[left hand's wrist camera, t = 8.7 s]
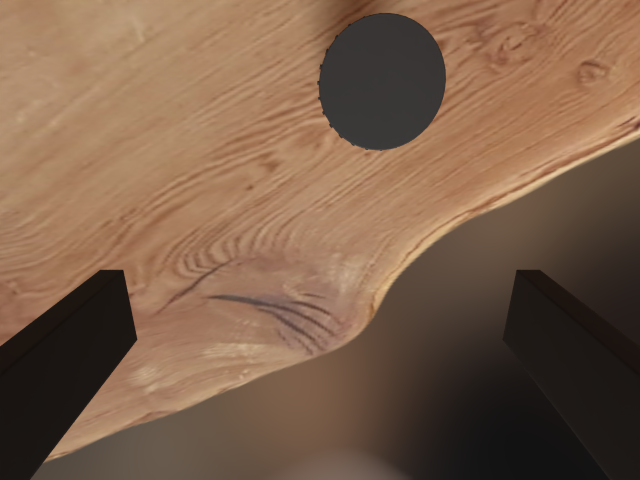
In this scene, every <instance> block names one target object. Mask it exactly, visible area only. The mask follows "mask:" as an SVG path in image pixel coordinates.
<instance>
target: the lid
mask: <svg viewBox="0 0 640 480" xmlns="http://www.w3.org/2000/svg"><path fill="white" fill-rule="evenodd" d="M320 69H321V72H320V79H319V81H317V85H319V95H320V97H318V100H320V101H321V105H322V108H323V112H322V113H323V115H324V114H325V115H326V117H327V119H328V121H329V122H330V124H329V125H330V127H331V128H332V127H333V128H334V129H335V131H336V132H337V133H338V134H339V136H340V138H344V139H346V140H347V141H349V142H350V143H351V144H352V145H353V146H354V145H356V146H359V147H361V148H365V149H366V150H368V149H370V150H380V151H382V150H387V149H393V148H397V147H400V146H402V145H404V144H406V143H408V142H410V141H412V140H413V139H415V138H416V137H417V136H419V135H420V134H421V133H422V132H423V131H424V130H425V129H426V128H427V127H428V126H429V124H430V123H431V122H432V120H433V119H434V117H435V116H436V114H437V112H438V110H439V108H440V105H441V102H442V99H443V96H444V91H445V83H446V72H445V65H444V60H443V56H442V53H441V51H440V49H439V46H438V44H437V43H436V41H435V40H434V38H433V37H432V35H431V34H430V33H429V32H428V31H427V30H426V29H425V28H424V27H423V26H422V25H420V24H419V23H417V22H416V21H414V20H412V19H410V18H408V17H406V16H402V15H399V14H392V13H379V14H374V15H370V16H367V17H363V18H361V19H359V20H357V21H356V22H354V23H352V24H349V25H348V27H347V28H346V29H344V30H343V31H342V32H341V33H340V34H339V35H337V36H336V37H335V40H334V42H333V43H332V45H331V46H330V48H329V49H327V50H326V56H325V58H324V61H323V64H322V65H321V64H320Z"/></svg>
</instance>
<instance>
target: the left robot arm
mask: <svg viewBox="0 0 640 480" xmlns="http://www.w3.org/2000/svg"><path fill="white" fill-rule="evenodd" d="M136 341H137V336H136V331H135V326H134V321H133V316H132V311H131V306H130V301H129V296H128V291H127V286H126V281H125V276H124V271H123V270H99V271H98V272H97V273H96V274H94V275H93V276H92V277H90V278H89V279H88V280H86V281H85V282H84V283H82V284H81V285H80V286H79V287H77V288H76V289H75V290H73V291H72V292H71V293H69V294H68V295H67V296H65V297H64V298H63V299H62V300H60V301H59V302H58V303H56V304H55V305H54V306H52V307H51V308H50V309H49V310H47V311H46V312H45V313H43V314H42V315H41V316H39V317H38V318H37V319H35V320H34V321H33V322H32V323H30V324H29V325H28V326H26V327H25V328H24V329H22V330H21V331H20V332H18V333H17V334H16V335H15V336H13V337H12V338H11V339H9V340H8V341H7V342H5V343H4V344H3V345H1V346H0V480H30V479H31V477H32V476H33V475H34V474H35V472H36V471H37V470H38V468H39V467H40V466H41V465H42V463H43V462H44V461H45V459H46V458H47V457H48V455H49V454H50V453H51V452H52V450H53V449H54V448H55V446H56V445H57V444H58V442H59V441H60V440H61V438H62V437H63V436H64V435H65V433H66V432H67V431H68V429H69V428H70V427H71V425H72V424H73V423H74V422H75V420H76V419H77V418H78V416H79V415H80V414H81V412H82V411H83V410H84V409H85V407H86V406H87V405H88V403H89V402H90V401H91V399H92V398H93V397H94V395H95V394H96V393H97V392H98V390H99V389H100V388H101V386H102V385H103V384H104V382H105V381H106V380H107V379H108V377H109V376H110V375H111V373H112V372H113V371H114V369H115V368H116V367H117V366H118V364H119V363H120V362H121V360H122V359H123V358H124V356H125V355H126V354H127V352H128V351H129V350H130V349H131V347H132V346H133V345H134V343H135V342H136ZM503 341H504V342H505V343H506V345H507V346H508V347H509V349H510V350H511V351H512V352H513V354H514V355H515V356H516V358H517V359H518V360H519V362H520V363H521V364H522V366H523V367H524V368H525V369H526V371H527V372H528V373H529V375H530V376H531V377H532V378H533V380H534V381H535V382H536V384H537V385H538V386H539V388H540V389H541V390H542V392H543V393H544V394H545V395H546V397H547V398H548V399H549V401H550V402H551V403H552V405H553V406H554V407H555V409H556V410H557V411H558V412H559V414H560V415H561V416H562V418H563V419H564V420H565V422H566V423H567V424H568V425H569V427H570V428H571V429H572V431H573V432H574V433H575V435H576V436H577V437H578V438H579V440H580V441H581V442H582V444H583V445H584V446H585V448H586V449H587V450H588V451H589V453H590V454H591V455H592V457H593V458H594V459H595V461H596V462H597V463H598V465H599V466H600V467H601V468H602V470H603V471H604V472H605V474H606V475H607V476H608V478H609V479H610V480H640V346H639V345H637V344H636V343H635V342H633V341H632V340H631V339H629V338H628V337H627V336H625V335H624V334H623V333H622V332H620V331H619V330H618V329H616V328H615V327H614V326H612V325H611V324H610V323H608V322H607V321H606V320H605V319H603V318H602V317H601V316H599V315H598V314H597V313H595V312H594V311H593V310H591V309H590V308H589V307H588V306H586V305H585V304H584V303H582V302H581V301H580V300H578V299H577V298H576V297H575V296H573V295H572V294H571V293H569V292H568V291H567V290H565V289H564V288H563V287H561V286H560V285H559V284H557V283H556V282H555V281H554V280H552V279H551V278H550V277H548V276H547V275H546V274H544V273H543V272H542V271H541V270H517V271H516V276H515V281H514V286H513V291H512V296H511V301H510V306H509V311H508V316H507V321H506V326H505V331H504V336H503Z"/></svg>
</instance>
